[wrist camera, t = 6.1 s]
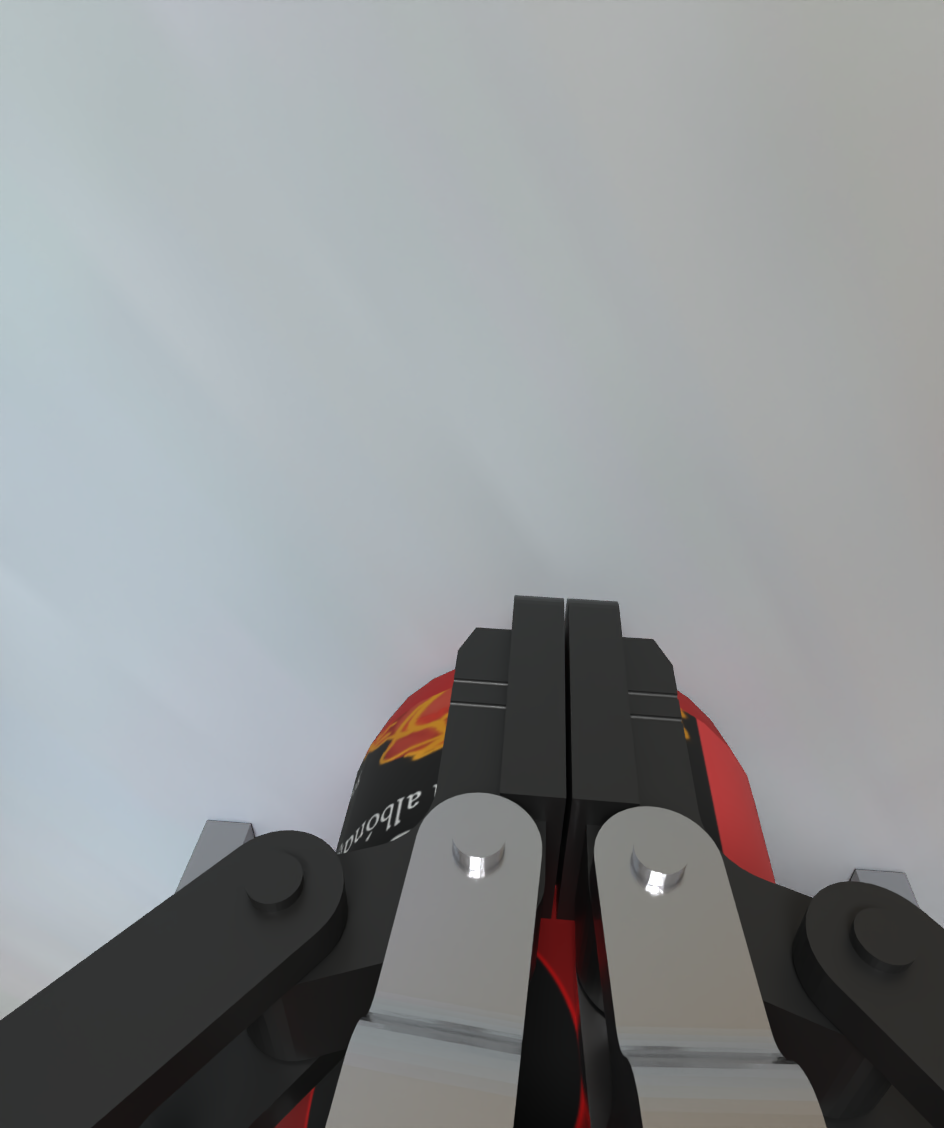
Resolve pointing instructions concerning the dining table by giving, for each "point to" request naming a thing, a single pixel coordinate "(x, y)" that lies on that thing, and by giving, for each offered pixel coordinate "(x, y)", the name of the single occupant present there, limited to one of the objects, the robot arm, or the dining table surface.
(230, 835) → the lane rails
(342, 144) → the dining table surface
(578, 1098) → the canned food
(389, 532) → the dining table surface
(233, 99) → the dining table surface
